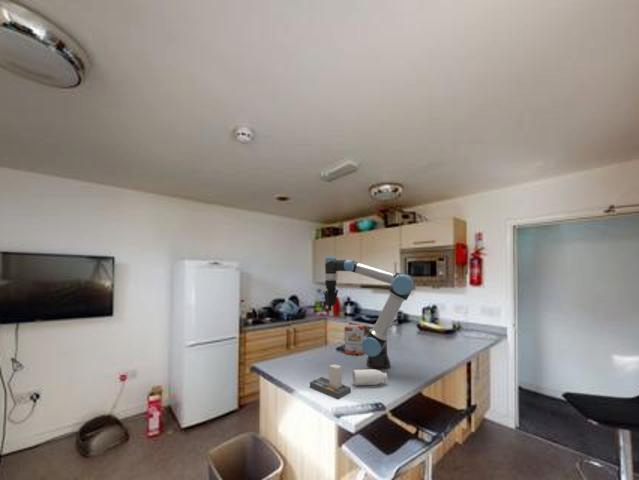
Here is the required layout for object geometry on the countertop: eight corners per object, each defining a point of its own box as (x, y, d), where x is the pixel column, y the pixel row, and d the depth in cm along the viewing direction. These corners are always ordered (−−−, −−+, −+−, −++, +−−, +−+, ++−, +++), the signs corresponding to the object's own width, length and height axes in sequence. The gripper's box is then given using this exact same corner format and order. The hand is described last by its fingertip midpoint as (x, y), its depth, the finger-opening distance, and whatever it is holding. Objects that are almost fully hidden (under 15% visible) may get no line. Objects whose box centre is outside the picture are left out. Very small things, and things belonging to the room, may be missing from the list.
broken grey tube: (389, 387, 148) (389, 372, 148) (354, 388, 147) (354, 372, 147) (385, 381, 155) (384, 366, 156) (352, 382, 154) (352, 367, 155)
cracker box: (345, 354, 204) (344, 325, 207) (345, 352, 210) (345, 324, 213) (364, 355, 202) (363, 326, 204) (364, 352, 208) (363, 324, 210)
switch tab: (329, 386, 143) (329, 366, 144) (334, 383, 145) (334, 364, 147) (336, 389, 139) (336, 368, 140) (341, 386, 142) (341, 366, 143)
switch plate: (309, 387, 148) (309, 380, 148) (322, 381, 155) (322, 375, 156) (338, 399, 134) (338, 391, 135) (350, 392, 142) (350, 385, 142)
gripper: (332, 279, 193) (333, 313, 191) (320, 280, 184) (320, 316, 181) (341, 279, 188) (341, 315, 186) (328, 280, 179) (328, 317, 176)
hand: (331, 315), depth 183 cm, fingers closed
